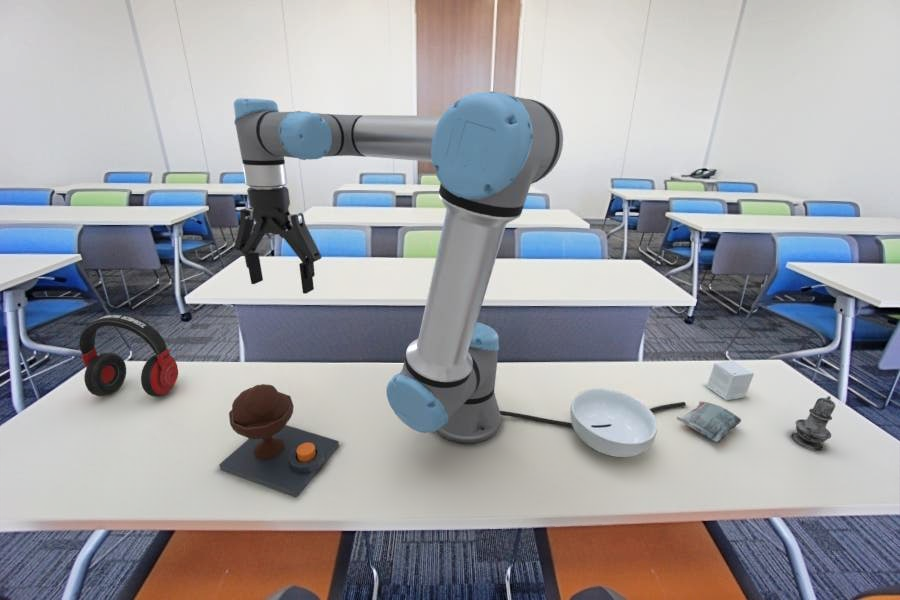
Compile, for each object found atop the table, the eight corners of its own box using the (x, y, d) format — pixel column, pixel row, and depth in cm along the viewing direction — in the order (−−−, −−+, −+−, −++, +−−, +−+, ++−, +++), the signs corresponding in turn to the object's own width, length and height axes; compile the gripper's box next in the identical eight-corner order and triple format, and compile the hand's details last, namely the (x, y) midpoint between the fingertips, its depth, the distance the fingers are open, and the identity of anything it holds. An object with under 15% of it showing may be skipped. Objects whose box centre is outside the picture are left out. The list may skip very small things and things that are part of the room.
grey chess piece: (824, 456, 82) (849, 409, 77) (788, 441, 85) (810, 396, 81) (824, 441, 86) (849, 396, 81) (790, 428, 89) (811, 384, 85)
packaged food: (673, 426, 89) (679, 408, 87) (698, 407, 95) (705, 390, 93) (715, 451, 82) (723, 432, 80) (739, 429, 89) (747, 411, 87)
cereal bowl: (557, 412, 92) (562, 386, 89) (628, 413, 92) (635, 388, 90) (580, 470, 76) (586, 441, 74) (665, 471, 77) (675, 443, 74)
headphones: (83, 405, 89) (50, 326, 81) (116, 379, 98) (89, 306, 90) (164, 405, 90) (139, 327, 82) (189, 380, 99) (169, 307, 91)
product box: (745, 398, 99) (755, 373, 96) (725, 401, 98) (735, 376, 95) (724, 383, 105) (733, 360, 102) (705, 386, 103) (713, 362, 100)
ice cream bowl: (307, 431, 82) (299, 369, 76) (281, 474, 72) (269, 407, 66) (258, 426, 83) (246, 365, 77) (225, 467, 73) (208, 401, 67)
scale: (341, 447, 80) (340, 435, 79) (299, 498, 69) (297, 486, 68) (270, 425, 85) (268, 414, 84) (220, 470, 74) (217, 458, 73)
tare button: (319, 452, 75) (318, 445, 74) (308, 464, 72) (307, 457, 72) (305, 447, 76) (304, 440, 75) (293, 459, 73) (292, 452, 73)
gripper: (332, 189, 78) (341, 289, 86) (233, 180, 85) (249, 273, 94) (308, 194, 71) (320, 302, 80) (202, 184, 79) (223, 283, 87)
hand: (282, 286), depth 87 cm, fingers open, 13 cm apart
